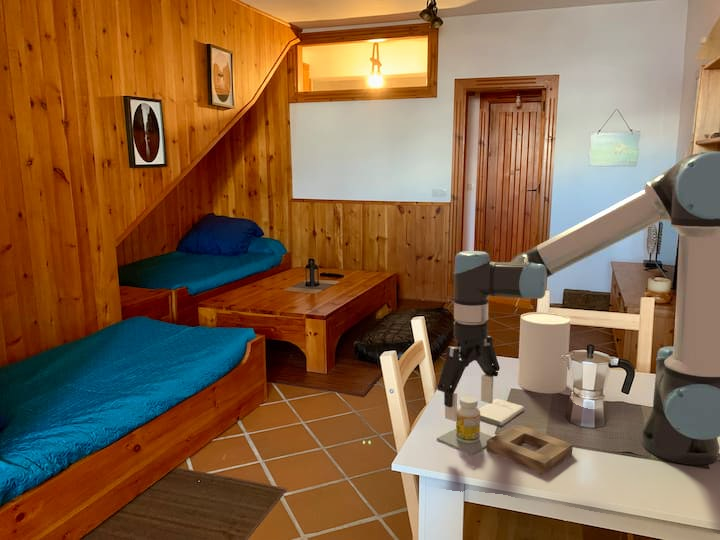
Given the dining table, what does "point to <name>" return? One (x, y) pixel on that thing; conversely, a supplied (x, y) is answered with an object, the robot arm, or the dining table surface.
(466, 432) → the supplement bottle
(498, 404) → the external hard drive
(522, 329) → the canister
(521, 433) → the block
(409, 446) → the dining table surface
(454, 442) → the felt pad
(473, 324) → the robot arm
